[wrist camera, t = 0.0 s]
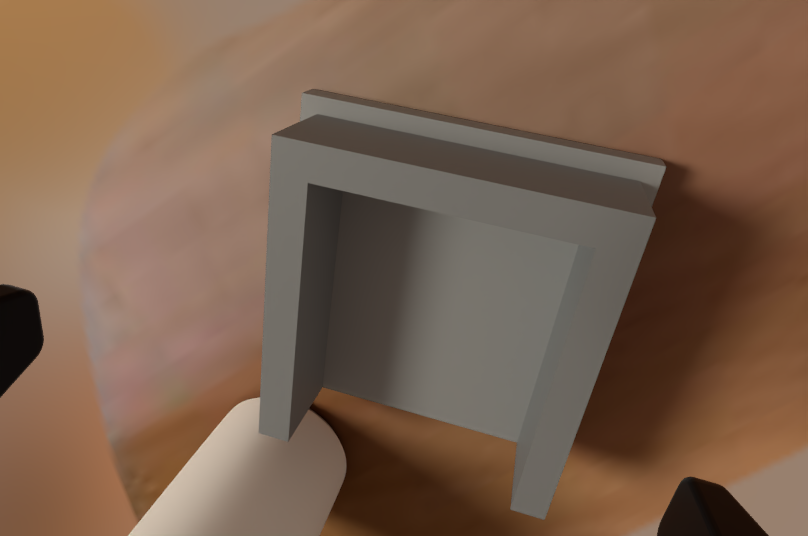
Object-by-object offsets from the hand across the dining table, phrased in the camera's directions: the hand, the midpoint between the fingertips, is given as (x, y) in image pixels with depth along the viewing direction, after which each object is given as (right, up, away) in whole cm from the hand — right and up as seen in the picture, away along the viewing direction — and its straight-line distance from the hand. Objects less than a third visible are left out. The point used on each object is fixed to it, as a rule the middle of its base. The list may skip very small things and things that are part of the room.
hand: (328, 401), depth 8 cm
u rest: (+3, +1, +15) cm, 15 cm away
